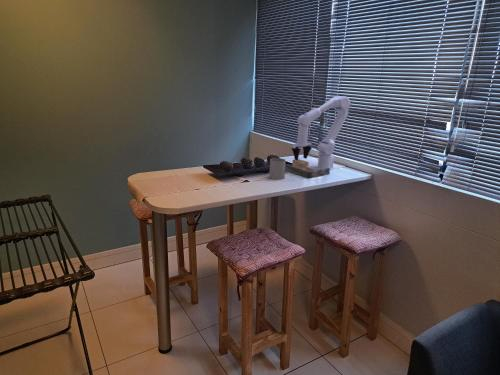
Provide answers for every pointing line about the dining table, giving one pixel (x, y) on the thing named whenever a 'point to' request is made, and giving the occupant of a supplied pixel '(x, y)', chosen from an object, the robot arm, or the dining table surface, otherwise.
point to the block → (300, 164)
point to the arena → (307, 171)
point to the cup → (277, 168)
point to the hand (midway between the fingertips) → (300, 158)
